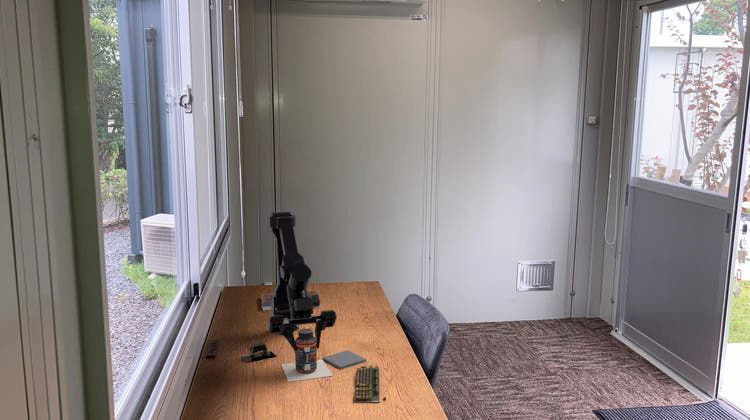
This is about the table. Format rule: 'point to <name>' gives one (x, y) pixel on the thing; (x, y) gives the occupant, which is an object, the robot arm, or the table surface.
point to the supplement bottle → (306, 351)
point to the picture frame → (268, 297)
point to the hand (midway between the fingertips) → (306, 349)
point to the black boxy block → (258, 356)
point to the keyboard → (367, 385)
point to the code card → (297, 376)
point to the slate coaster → (344, 359)
